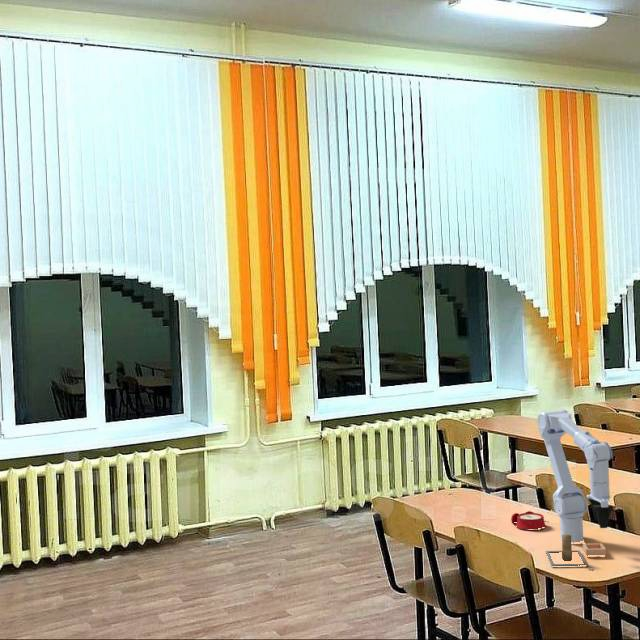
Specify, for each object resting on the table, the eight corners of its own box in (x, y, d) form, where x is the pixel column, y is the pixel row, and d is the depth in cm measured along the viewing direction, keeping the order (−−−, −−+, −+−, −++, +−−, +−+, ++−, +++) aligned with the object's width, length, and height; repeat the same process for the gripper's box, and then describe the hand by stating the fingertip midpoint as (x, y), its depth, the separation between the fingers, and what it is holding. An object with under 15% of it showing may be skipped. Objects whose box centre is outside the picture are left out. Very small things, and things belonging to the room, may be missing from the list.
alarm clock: (527, 523, 296) (505, 504, 310) (525, 539, 298) (504, 520, 311) (553, 519, 299) (530, 500, 313) (551, 535, 301) (529, 516, 314)
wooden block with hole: (583, 552, 272) (582, 543, 272) (602, 552, 272) (602, 543, 271) (586, 559, 266) (586, 549, 266) (606, 558, 266) (605, 549, 265)
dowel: (561, 559, 266) (560, 534, 265) (570, 559, 266) (570, 534, 265) (563, 562, 263) (563, 537, 262) (572, 562, 263) (572, 536, 262)
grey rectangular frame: (545, 554, 273) (545, 550, 273) (579, 554, 271) (579, 550, 271) (551, 568, 259) (551, 565, 259) (587, 568, 258) (587, 564, 258)
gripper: (582, 476, 275) (584, 518, 275) (590, 487, 261) (592, 531, 261) (604, 475, 274) (606, 517, 274) (614, 486, 260) (616, 530, 260)
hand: (601, 524), depth 268 cm, fingers open, 7 cm apart
